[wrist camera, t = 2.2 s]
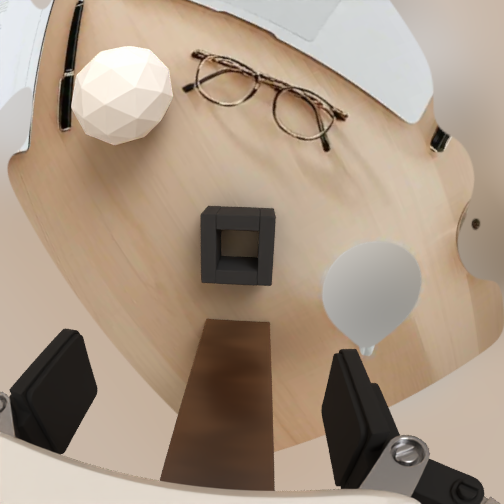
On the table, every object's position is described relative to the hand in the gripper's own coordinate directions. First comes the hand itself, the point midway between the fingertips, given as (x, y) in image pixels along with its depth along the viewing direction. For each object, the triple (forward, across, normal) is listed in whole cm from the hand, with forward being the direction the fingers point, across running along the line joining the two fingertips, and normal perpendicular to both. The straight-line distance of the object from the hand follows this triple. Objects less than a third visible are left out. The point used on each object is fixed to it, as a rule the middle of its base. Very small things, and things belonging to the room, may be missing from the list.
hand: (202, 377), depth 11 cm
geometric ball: (+18, +9, -12) cm, 23 cm away
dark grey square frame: (+18, 0, 0) cm, 18 cm away
